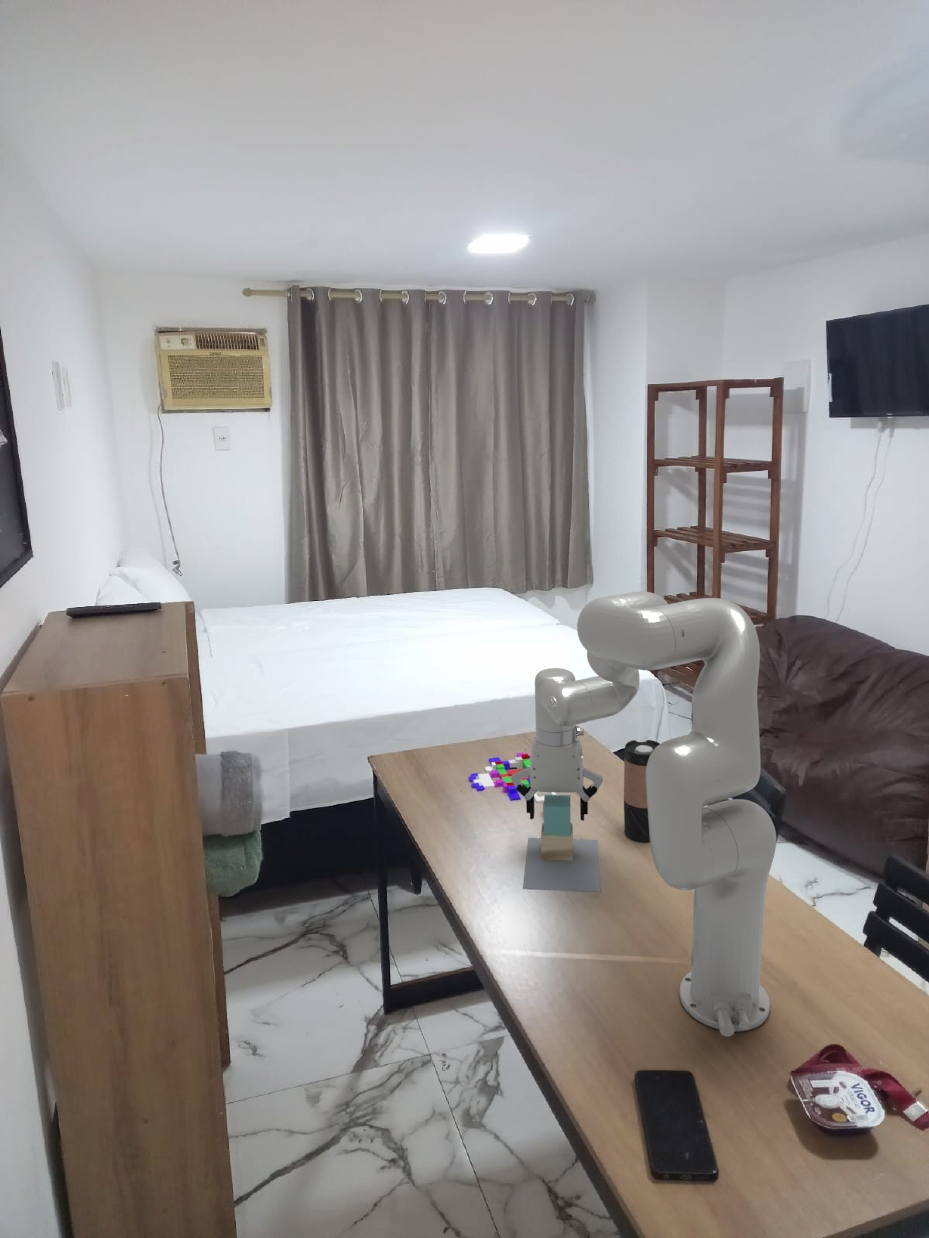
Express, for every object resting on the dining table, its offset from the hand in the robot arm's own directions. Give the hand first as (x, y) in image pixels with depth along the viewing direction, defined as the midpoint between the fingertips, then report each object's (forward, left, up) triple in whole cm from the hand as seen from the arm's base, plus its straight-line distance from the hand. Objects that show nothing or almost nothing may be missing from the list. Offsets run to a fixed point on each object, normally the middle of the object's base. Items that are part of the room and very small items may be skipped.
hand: (557, 816), depth 156 cm
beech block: (0, 0, -8) cm, 8 cm away
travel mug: (+8, -17, -9) cm, 21 cm away
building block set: (+33, +11, -10) cm, 36 cm away
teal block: (0, 0, -3) cm, 3 cm away
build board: (-4, -1, -9) cm, 10 cm away
